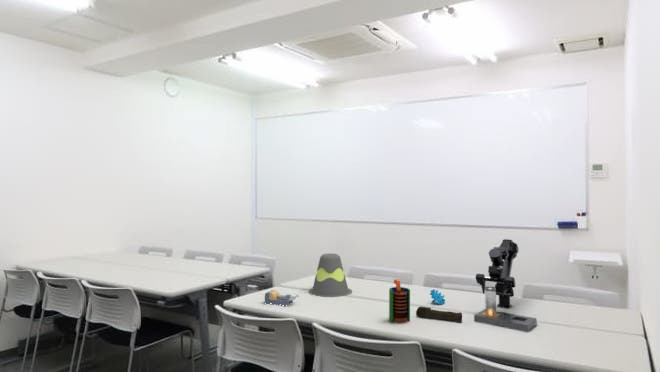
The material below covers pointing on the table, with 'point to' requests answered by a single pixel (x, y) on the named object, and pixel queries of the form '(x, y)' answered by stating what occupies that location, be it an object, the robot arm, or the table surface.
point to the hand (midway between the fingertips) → (492, 294)
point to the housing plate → (507, 320)
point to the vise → (278, 298)
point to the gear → (437, 297)
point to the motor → (399, 303)
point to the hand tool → (438, 314)
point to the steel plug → (490, 301)
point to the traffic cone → (330, 278)
